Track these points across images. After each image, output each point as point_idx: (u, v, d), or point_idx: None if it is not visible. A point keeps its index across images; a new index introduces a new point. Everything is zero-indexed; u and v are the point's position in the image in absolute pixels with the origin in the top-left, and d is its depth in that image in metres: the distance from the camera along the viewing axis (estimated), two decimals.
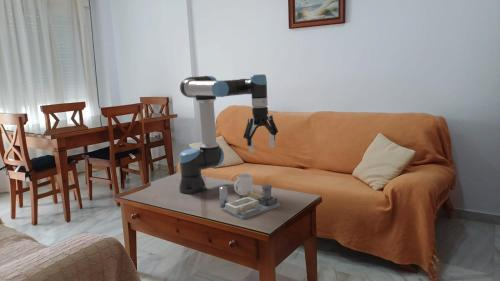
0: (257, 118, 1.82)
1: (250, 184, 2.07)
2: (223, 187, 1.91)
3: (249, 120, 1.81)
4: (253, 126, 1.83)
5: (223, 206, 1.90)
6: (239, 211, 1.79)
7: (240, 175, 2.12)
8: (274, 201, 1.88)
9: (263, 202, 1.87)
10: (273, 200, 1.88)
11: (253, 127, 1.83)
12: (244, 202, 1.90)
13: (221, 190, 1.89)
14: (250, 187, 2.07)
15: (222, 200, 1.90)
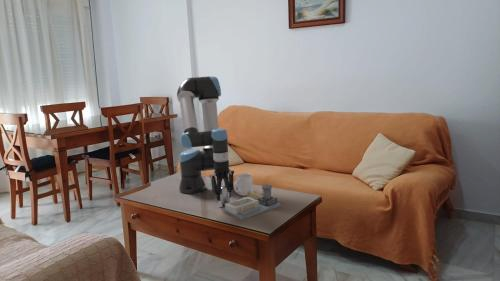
0: (217, 172, 1.86)
1: (250, 184, 2.07)
2: (223, 187, 1.91)
3: (211, 177, 1.85)
4: (217, 181, 1.89)
5: (223, 206, 1.90)
6: (239, 211, 1.79)
7: (240, 175, 2.12)
8: (274, 201, 1.88)
9: (263, 202, 1.87)
10: (273, 200, 1.88)
11: (218, 182, 1.88)
12: (244, 202, 1.90)
13: (221, 190, 1.89)
14: (250, 187, 2.07)
15: (222, 200, 1.90)
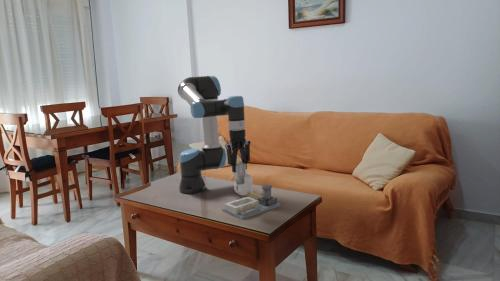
0: (233, 141, 1.77)
1: (250, 184, 2.07)
2: (239, 163, 1.81)
3: (227, 147, 1.76)
4: (233, 151, 1.79)
5: (239, 183, 1.81)
6: (239, 211, 1.79)
7: None
8: (274, 201, 1.88)
9: (263, 202, 1.87)
10: (273, 200, 1.88)
11: (233, 152, 1.79)
12: (244, 202, 1.90)
13: None
14: (250, 187, 2.07)
15: (238, 176, 1.81)
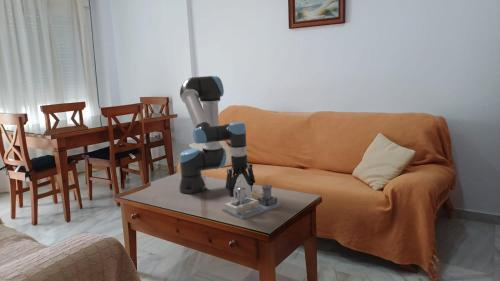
0: (236, 167, 1.79)
1: None
2: (241, 188, 1.84)
3: (228, 171, 1.78)
4: (233, 176, 1.81)
5: None
6: (239, 211, 1.79)
7: (240, 175, 2.12)
8: (274, 201, 1.88)
9: (263, 202, 1.87)
10: (273, 200, 1.88)
11: (233, 177, 1.80)
12: None
13: (239, 191, 1.82)
14: None
15: (240, 201, 1.83)
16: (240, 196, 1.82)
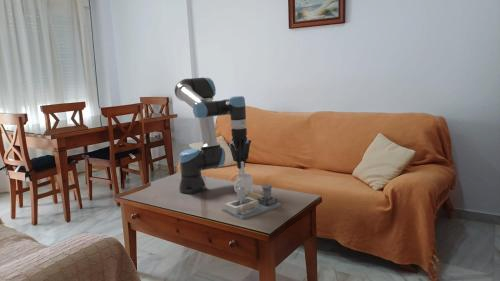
0: (235, 139, 1.86)
1: (250, 184, 2.07)
2: (241, 188, 1.84)
3: (230, 146, 1.85)
4: (236, 149, 1.89)
5: None
6: (239, 211, 1.79)
7: (240, 175, 2.12)
8: (274, 201, 1.88)
9: (263, 202, 1.87)
10: (273, 200, 1.88)
11: (237, 150, 1.88)
12: None
13: (239, 191, 1.82)
14: (250, 187, 2.07)
15: (240, 201, 1.83)
16: (240, 196, 1.82)
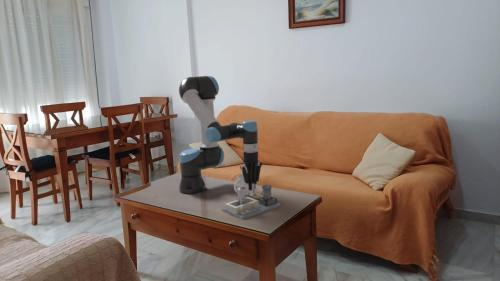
0: (247, 162, 1.92)
1: None
2: (241, 188, 1.83)
3: (242, 169, 1.92)
4: (248, 171, 1.95)
5: None
6: (239, 211, 1.79)
7: (240, 175, 2.12)
8: (274, 201, 1.88)
9: (263, 202, 1.87)
10: (273, 200, 1.88)
11: (248, 172, 1.95)
12: None
13: (240, 191, 1.82)
14: None
15: (240, 201, 1.83)
16: (241, 196, 1.82)
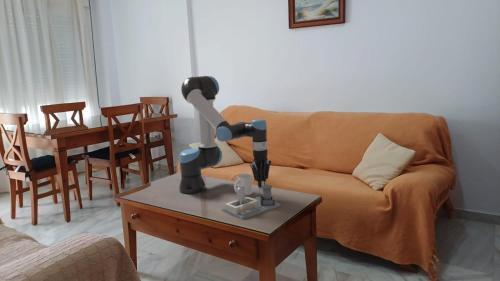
0: (257, 160, 1.96)
1: (250, 184, 2.07)
2: (241, 187, 1.84)
3: (251, 166, 1.95)
4: (257, 169, 1.99)
5: None
6: (239, 211, 1.79)
7: (240, 175, 2.12)
8: (271, 202, 1.87)
9: None
10: (269, 201, 1.86)
11: (258, 170, 1.98)
12: None
13: (239, 190, 1.82)
14: (250, 187, 2.07)
15: (240, 201, 1.83)
16: (240, 196, 1.83)
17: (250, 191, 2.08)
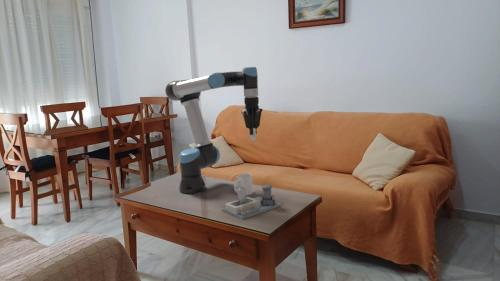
0: (248, 107, 2.00)
1: (250, 184, 2.07)
2: (241, 188, 1.83)
3: (243, 113, 1.99)
4: (249, 116, 2.03)
5: None
6: (239, 211, 1.79)
7: (240, 175, 2.12)
8: (271, 202, 1.87)
9: None
10: (269, 201, 1.86)
11: (249, 117, 2.02)
12: None
13: (241, 191, 1.81)
14: (250, 187, 2.07)
15: (241, 202, 1.83)
16: (242, 196, 1.82)
17: (250, 191, 2.08)
